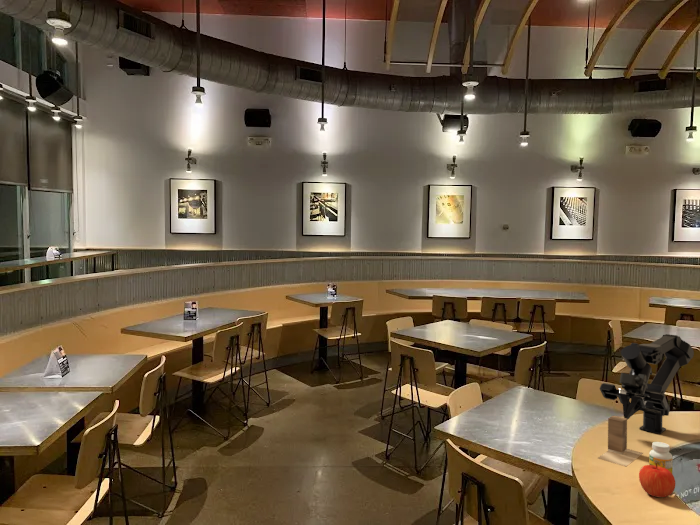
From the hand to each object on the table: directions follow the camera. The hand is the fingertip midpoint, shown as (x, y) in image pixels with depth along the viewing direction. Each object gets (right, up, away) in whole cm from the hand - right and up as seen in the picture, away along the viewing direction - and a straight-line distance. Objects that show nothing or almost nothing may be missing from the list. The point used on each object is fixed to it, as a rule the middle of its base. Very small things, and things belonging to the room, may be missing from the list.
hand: (625, 418), depth 162 cm
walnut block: (-5, -9, -4) cm, 11 cm away
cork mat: (-6, -9, -8) cm, 13 cm away
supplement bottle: (-3, -10, -23) cm, 25 cm away
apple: (-9, -10, -31) cm, 34 cm away
